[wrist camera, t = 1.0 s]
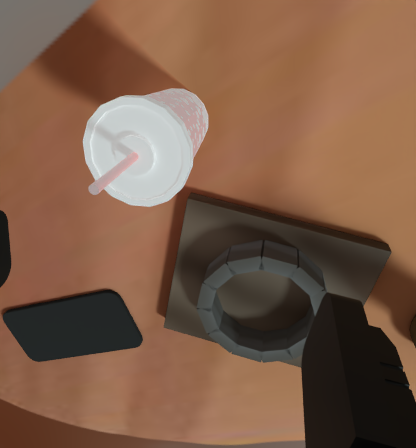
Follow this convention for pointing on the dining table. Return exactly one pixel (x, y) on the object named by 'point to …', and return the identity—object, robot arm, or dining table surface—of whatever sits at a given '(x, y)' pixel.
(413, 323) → the pepper mill
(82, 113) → the dining table surface
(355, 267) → the ring holder
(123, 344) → the phone
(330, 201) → the dining table surface
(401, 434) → the robot arm
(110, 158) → the beverage cup
